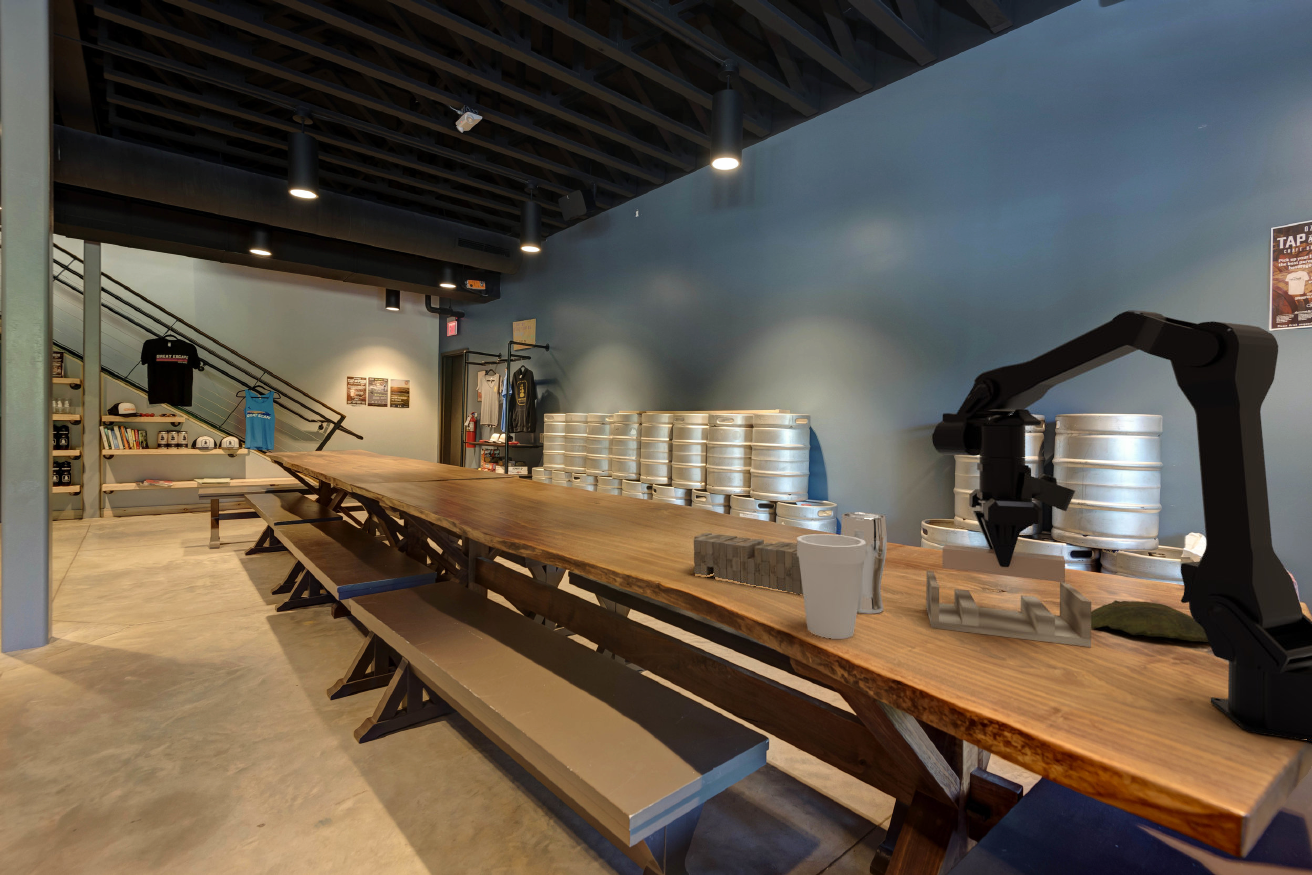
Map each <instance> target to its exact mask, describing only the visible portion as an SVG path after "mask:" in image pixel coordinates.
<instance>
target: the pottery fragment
mask: <svg viewBox="0 0 1312 875" xmlns="http://www.w3.org/2000/svg"><path fill="white" fill-rule="evenodd" d="M1104 627H1109V628H1110V629H1111V630H1120V631H1123V632H1125V633H1127V634H1130V635H1132V636H1140V635H1143V636H1146V637H1155V638H1156V637H1162V638H1169V639H1177V640H1181V641H1182V640H1183V641H1187V642H1191V643H1192V642H1203V643H1209V641H1208V639H1207V636H1206V634H1205V631H1204V629H1203V628H1202V627H1201V626H1200V625H1199V624H1198V623H1196V622H1195V621H1194V619H1193V617H1192V616H1191V615H1189V614H1187V613H1185V612H1182V611H1180V610H1178V609H1175V608H1173V607H1171V606H1169V605H1166V604H1162V603H1156V602H1152V601H1151V602H1150V601H1139V600H1137V601H1136V600H1135V601H1133V600H1132V601H1129V600H1128V601H1127V600H1120V601H1119V600H1116V599H1115V600H1114V601H1111V603H1107V604H1103V605H1102V606H1099V607H1097V608H1095V609H1094V610H1091V630H1098V629H1100V628H1104Z"/></svg>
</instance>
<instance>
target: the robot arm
mask: <svg viewBox="0 0 1312 875" xmlns="http://www.w3.org/2000/svg"><path fill="white" fill-rule="evenodd" d="M1138 350H1139V351H1141V352H1144V353H1147V354H1148V355H1152V356H1154V357H1157V358H1158V357H1159V358H1161V359H1165V360H1168V361H1170V364H1171V368H1172V370H1173V374H1174V377H1175V380H1176V384H1177V387H1178V388H1179V389H1180V390H1181V393H1183V395H1184V396H1185V398H1186V399H1187V401H1188V403H1189V405H1190V406H1191V407H1192V408H1193V411H1194V414H1195V418H1196V419H1195V421H1196V431H1197V432H1196V433H1197V434H1196V436H1197V446H1198V448H1197V449H1198V458H1199V471H1200V484H1201V493H1202V507H1203V508H1202V509H1203V519H1204V522H1203V523H1204V530H1205V531H1204V532H1205V542H1206V543H1205V550H1204V552H1203V554H1202V556H1201V558H1200V560H1199V561H1191V562H1183V563H1181V564H1180V575H1181V578H1182V582H1183V583H1182V584H1183V594H1182V597H1181V599H1180V602H1181V603H1182V604H1188V607H1189V608H1188V610H1189V612H1190V616H1191V617H1192V618H1193V619H1194V621H1195V622H1196V623H1198V624H1199V625H1200V626H1201V627H1202V628H1203V629H1204V631H1205V634H1206V636H1207V639H1208V641H1209V642H1208V644H1209V646H1210V648H1211V651H1212V653H1213V656H1214V657H1215V658H1218V659H1223V660H1224V661H1228V677H1227V678H1228V679H1227V680H1228V686H1227V687H1228V688H1227V689H1228V691H1227V692H1228V693H1227V695H1228V696H1227V698H1221V697H1210V703H1211V704H1212V705H1213V706H1214V707H1215V708H1217V709H1218V710H1219V711H1221V712H1222V713H1224V715H1225V716H1227V717H1228V718H1229V719H1230V720H1232V721H1233V722H1234V723H1236V724H1237V725H1238V726H1239V727H1240V728H1241V729H1242V730H1245V731H1247V732H1251V733H1256V734H1263V735H1270V736H1275V737H1276V736H1277V737H1283V738H1289V739H1294V738H1295V740H1301V739H1307V740H1308V742H1312V620H1311V619H1310V618H1309V617H1308V616H1307V615H1306V614H1305V613H1303V608H1302V605H1301V602H1300V599H1299V596H1298V594H1297V590H1296V587H1295V583H1294V580H1293V578H1292V576H1291V574H1290V573H1289V572H1288V570H1287V569H1286V567H1285V566H1284V564H1283V563H1282V561H1281V560H1280V558H1279V557H1278V555H1277V553H1276V552H1275V551H1274V547H1273V539H1272V528H1271V527H1272V526H1271V519H1270V518H1271V516H1270V507H1269V506H1270V505H1269V494H1268V483H1267V482H1268V481H1267V472H1266V462H1265V460H1266V459H1265V450H1264V438H1263V425H1262V417H1261V416H1262V415H1261V409H1262V405H1263V403H1264V401H1265V399H1266V397H1267V394H1268V393H1269V391H1270V389H1271V386H1272V384H1273V383H1274V380H1275V375H1276V369H1277V362H1278V355H1279V344H1278V341H1277V339H1276V337H1275V336H1274V335H1273V333H1272V332H1269V331H1267V330H1265V329H1263V328H1262V327H1260V326H1257V325H1256V326H1254V325H1249V324H1241V323H1232V322H1222V321H1215V320H1214V321H1204V322H1203V321H1202V322H1199V323H1197V322H1192V321H1186V320H1182V319H1177V318H1172V317H1168V316H1166V315H1165V316H1164V315H1163V314H1162V313H1158V312H1154V311H1145V310H1138V309H1137V310H1127V311H1123V312H1121V313H1119V314H1117V315H1116V316H1114V317H1113V318H1112V319H1111V320H1109V321H1107V322H1105V323H1104V324H1101V325H1100V326H1097V327H1095V328H1093V329H1091V330H1089V331H1087V332H1084V333H1083V334H1081V335H1078V336H1077V337H1075V338H1073V339H1071V340H1069V341H1067V342H1064V343H1062V344H1060V345H1058V346H1056V347H1054V348H1053V349H1051V350H1048V351H1046V352H1045V353H1042V354H1041V355H1038V356H1037V357H1035V358H1032V359H1030V360H1027V361H1023V362H1020V363H1014V364H1009V365H1004V366H1000V367H996V368H993V369H990V370H987V371H984V372H981V373H980V374H979V375H977V376H976V377H975V378H974V380H973V382H974V383H973V386H972V387H971V389H970V391H969V393H968V394H967V396H966V397H965V399H964V401H962V404H961V405H960V407H959V409H958V410H957V412H956V413H955V412H954V413H953V412H951V413H950V412H948V413H945V412H944V413H942V420H941V421H940V422H938V423H937V425H936V426H935V429H934V430H933V432H932V434H931V440H932V444H933V445H932V446H933V447H934V448H935V451H937V452H938V453H939V454H940V455H945V456H947V455H948V456H966V457H967V456H968V457H969V456H970V457H977V456H979V462H977V463H976V470H977V471H979V473H978V474H979V481H978V482H979V487H978V488H975V489H974V490H973V491H972V492H970V493H969V496H968V497H969V501H968V502H969V503H968V504H969V505H968V506H969V507H971V508H972V509H973V508H977V507H979V510H973V511H972V512H973V514H974V516H975V519H976V521H977V524H978V525H979V528H980V529H981V532H982V534H983V536H984V539H985V541H986V544H987V546H988V549H993V550H994V553H995V555H996V558H997V560H998V563H999V565H1000V566H1001V567H1009V565H1010V562H1011V559H1012V556H1013V552H1014V551H1015V548H1016V545H1017V542H1018V540H1019V537H1020V534H1021V533H1022V532H1024V531H1025V530H1026V529H1027V528H1029V527H1033V526H1034V525H1041V524H1043V515H1044V514H1043V513H1044V512H1043V509H1042V508H1041V507H1040V506H1039V505H1038V504H1037V503H1036V502H1034V501H1033V500H1036V501H1039V502H1042V503H1045V504H1046V505H1048V506H1050V507H1053V508H1056V509H1058V510H1061V511H1064V512H1067V510H1068V508H1069V505H1070V504H1071V502H1072V501H1073V500H1072V499H1073V498H1074V496H1075V493H1076V490H1074V489H1072V488H1068V487H1065V486H1064V485H1059V484H1058V482H1057V481H1058V479H1057V477H1054V476H1051V475H1048V474H1045V473H1041V474H1040V475H1038V476H1037V477H1035V476H1033V475H1032V467H1029V466H1030V465H1028V464H1026V427H1032V426H1034V427H1039V426H1041V425H1042V422H1041V420H1040V419H1038V418H1037V417H1036V416H1034V415H1033V414H1032V413H1031V412H1030V411H1029V410H1028V409H1027V408H1029V407H1030V406H1032V405H1033V404H1035V403H1037V402H1038V401H1040V400H1041V399H1042V398H1043V397H1044V396H1045V395H1046V394H1047V393H1048V392H1049V390H1051V389H1052V388H1054V387H1055V386H1058V385H1059V384H1061V383H1064V382H1066V381H1069V380H1071V379H1074V378H1075V377H1079V376H1081V375H1083V374H1085V373H1088V372H1089V371H1091V370H1092V371H1093V370H1094V369H1097V368H1099V367H1102V366H1103V365H1105V364H1109V363H1111V362H1113V361H1115V360H1117V359H1119V358H1122V357H1124V356H1127V355H1130V354H1131V353H1134V352H1136V351H1138ZM1307 740H1306V741H1307Z"/></svg>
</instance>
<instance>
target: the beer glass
mask: <svg viewBox="0 0 1312 875" xmlns="http://www.w3.org/2000/svg"><path fill="white" fill-rule="evenodd" d="M840 526H841V529H840V535H843V536H849V537H855V538H859V539H862V540H864V541H865V542H866V560H865V561H864V567H863V574H862V581H861V587H860V594H859V601H858V608H857V614H868V615H869V614H870V615H872V614H880V613H881V612H884V605H883V598H882V592H881V590H882V589H881V587H882V578H883V572H884V568H885V561H886V555H887V546H888V545H887V544H888V542H887V541H888V538H887V537H888V536H887V524H886V516H885V515H883V514H880V513H873V512H845V513H842V517H841V525H840Z"/></svg>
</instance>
